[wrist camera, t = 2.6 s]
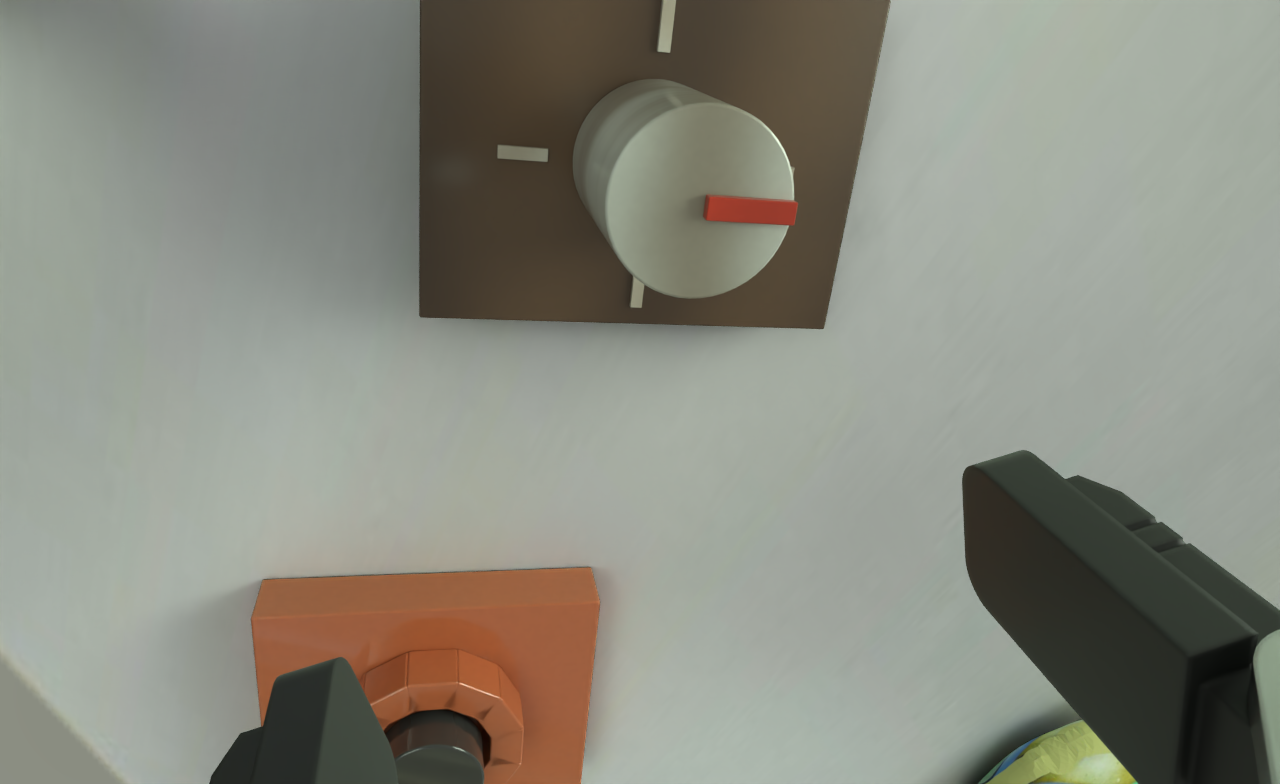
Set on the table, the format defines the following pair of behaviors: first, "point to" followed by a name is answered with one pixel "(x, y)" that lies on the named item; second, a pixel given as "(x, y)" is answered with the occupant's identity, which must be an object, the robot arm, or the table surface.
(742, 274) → the dial
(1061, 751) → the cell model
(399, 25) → the table surface
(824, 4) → the dial panel
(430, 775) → the button
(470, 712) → the button housing
